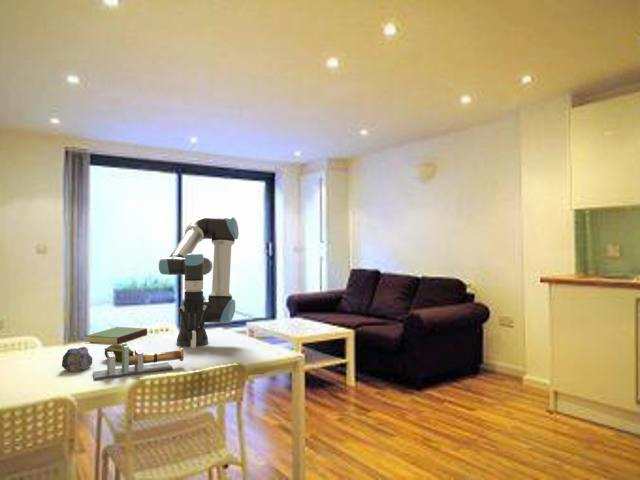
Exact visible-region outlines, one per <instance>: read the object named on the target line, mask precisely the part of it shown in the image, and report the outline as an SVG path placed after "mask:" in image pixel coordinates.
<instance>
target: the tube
mask: <svg viewBox="0 0 640 480" xmlns="http://www.w3.org/2000/svg"><path fill="white" fill-rule="evenodd" d="M184 355H185V354H184V349H183V347H182V348H181V347H180V348H179V349H178V350H174V351H173V350H172V351H171V350H170V351H163V352H154V353H147V354H143V365H147V364H157V363H163V362H167V361H168V362H170V361H177V360H179V361H180V362H183V361H184V357H185V356H184ZM135 365H137V355H136V356H135V355H134V356H129V366H135Z"/></svg>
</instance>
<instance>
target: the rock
mask: <svg viewBox="0 0 640 480" xmlns="http://www.w3.org/2000/svg"><path fill="white" fill-rule="evenodd" d="M92 365H93V357H92V356H91V354H90V352H89V349H88V347H85V346H81V347H79V348H70V349H68V350H67V351H66V352H65V353H64V354H63V356H62V364H61V367H62V368H63V369H65V371H68V372H70V373H75V372H76V373H77V372H83V371H86V370H87V369H88V368H90V367H91V366H92Z"/></svg>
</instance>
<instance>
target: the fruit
mask: <svg viewBox="0 0 640 480" xmlns="http://www.w3.org/2000/svg"><path fill="white" fill-rule="evenodd" d="M107 352H113V353H114V355H115V363H122V344H112V345H109V346H108V347H106V348H104V356H105V358H106V359H107ZM129 356H135V351H133V350H132V349H131V348H129Z"/></svg>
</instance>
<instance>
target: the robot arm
mask: <svg viewBox="0 0 640 480" xmlns="http://www.w3.org/2000/svg"><path fill="white" fill-rule="evenodd" d="M209 239H210V240H211V243H212V244H213V262H212V261H211V259H209V258H208V257H204V255H203V254H202V253H193V251H194V250H195V249H196V247H197V245H198V244H199V243H201V242H202V241H203V240H209ZM237 239H239V226H238V221H237V219H236V218H235V217H233V216H229V215H228V216H226V215H225V216H202V217H200V218H197V219H196V220H194V221H192V222H191V223H190V224H189V225H188V226H187V227H186V228H185V231H184V235H183V236H182V238H181V239H180V241H179V242H178V243H177V245H176V246H175V248H174V250H173V251H172V252H171V254H170V255H169V256H168V257H167V256H166V257H162V258H160V259H159V261H158V270H159V273H160V274H161V275H166V276H167V275H168V276H172V275H174V276H176V275H177V276H180V275H181V276H184V297H183V299H181V301H180V307H178V308H177V311H178V312H179V314H180V316H179V317H180V329H179V332H178V334H177V338H176V345H177V346H179V347H190V348H191V349H194V348H195V349H196V347H198V346H199V347H200V346H205V345H207V344H208V343H209V337H208V334H207V331H206V328H205V323H207V324H208V323H209V324H212V323H213V324H226V323H231V321H232V320H233V318H234V316H235V311H236V300H235V299H234V298H233V295H232V294H231V292H230V286H231V285H230V284H231V283H230V281H231V264H232V262H231V260H232V247H233V245H234V244H235V241H236V240H237ZM210 272H212V284H211V285H212V286H211V292H210V294H208V298H206V297H205V296H204V291H203V290H204V276H206V275H207V274H210Z"/></svg>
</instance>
